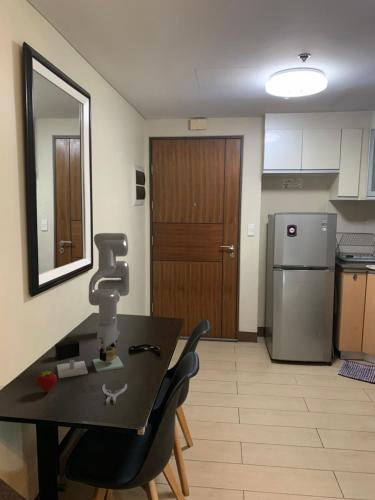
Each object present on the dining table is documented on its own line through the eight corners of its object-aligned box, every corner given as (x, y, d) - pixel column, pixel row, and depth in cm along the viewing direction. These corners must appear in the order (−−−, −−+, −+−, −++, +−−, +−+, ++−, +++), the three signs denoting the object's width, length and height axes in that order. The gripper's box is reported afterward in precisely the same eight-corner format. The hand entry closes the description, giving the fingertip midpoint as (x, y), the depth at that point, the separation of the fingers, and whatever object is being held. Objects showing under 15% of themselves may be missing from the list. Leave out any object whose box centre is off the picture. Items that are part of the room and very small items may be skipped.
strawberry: (54, 396, 143) (54, 371, 142) (34, 396, 143) (34, 371, 142) (59, 388, 149) (58, 364, 148) (40, 388, 149) (39, 365, 147)
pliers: (127, 381, 153) (124, 400, 138) (127, 385, 154) (124, 404, 139) (103, 382, 153) (97, 401, 138) (103, 385, 153) (97, 405, 138)
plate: (92, 361, 175) (92, 351, 174) (118, 357, 180) (118, 347, 179) (96, 372, 164) (96, 361, 164) (123, 368, 169) (123, 357, 168)
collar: (97, 359, 170) (97, 350, 169) (105, 353, 176) (105, 345, 176) (110, 361, 167) (110, 353, 167) (118, 356, 173) (118, 348, 173)
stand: (57, 366, 169) (56, 357, 168) (84, 362, 174) (83, 353, 173) (58, 378, 158) (58, 368, 157) (87, 373, 163) (87, 363, 162)
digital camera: (75, 352, 186) (75, 338, 185) (79, 355, 182) (79, 342, 181) (54, 357, 180) (54, 343, 179) (58, 360, 176) (58, 346, 175)
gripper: (111, 314, 179) (111, 349, 181) (88, 324, 163) (89, 363, 165) (124, 316, 176) (124, 351, 178) (103, 326, 160) (103, 366, 162)
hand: (107, 357), depth 172 cm, fingers closed on collar, 7 cm apart
